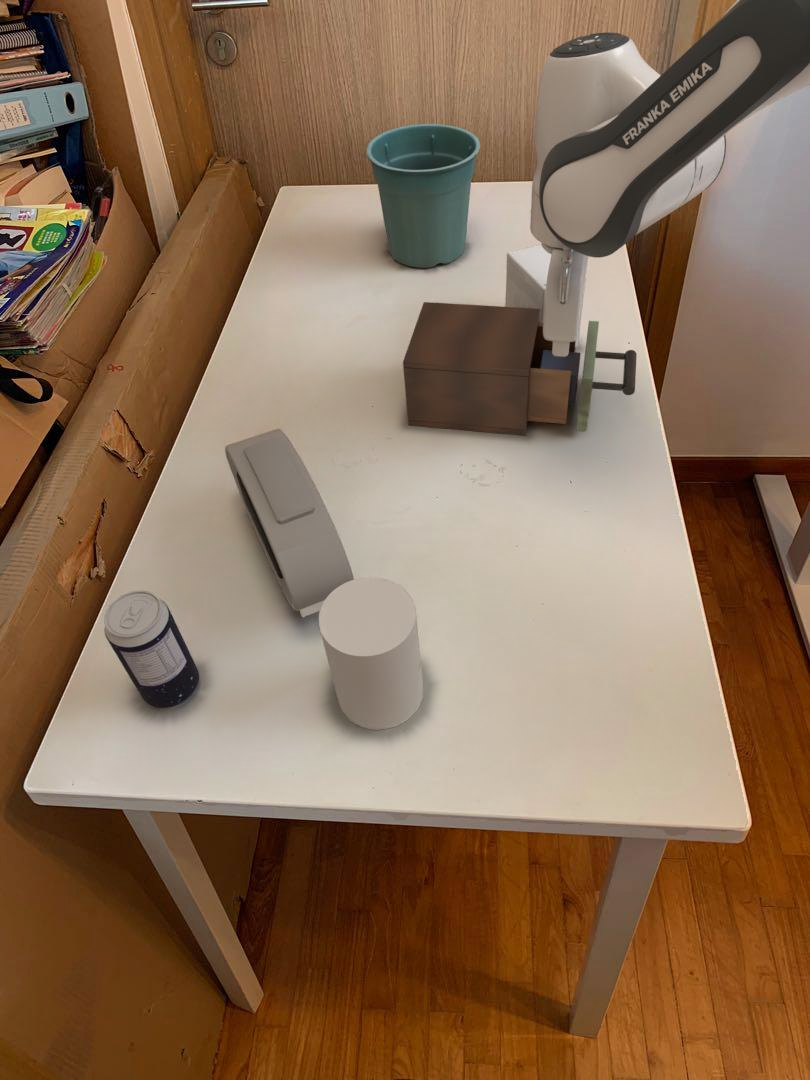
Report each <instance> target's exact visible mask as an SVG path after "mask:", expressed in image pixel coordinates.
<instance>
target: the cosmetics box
mask: <svg viewBox="0 0 810 1080" xmlns="http://www.w3.org/2000/svg"><path fill="white" fill-rule="evenodd" d="M550 259H551V254H549V253H548V252H547V251H545V250H544V249H543V247H542V244H541V243H540V244H538V245H537V244H536V245H533V246H528V247H526V248H521V249H517V250H513V251H508V252H507V254H506V276H505V277H506V279H505V280H506V281H505V303H504V305H505V306H504V307H518V308H535V309H540V323H543V320H544V307H545V295H546V284H547V275H548V270H549V264H550ZM586 282H587V279H586V280H585V284H586ZM585 291H586V287H585V288H584V292H585ZM583 299H585V295H584V296H583ZM583 305H584V303H583V304H582V308H583ZM582 315H583V310H582V311H581V316H582ZM581 321H582V318H581V319H580V325H581ZM580 331H581V326H580V327H579V334H578V338H577V340H576V343H575V349H577V348H578V347H579V340H580Z"/></svg>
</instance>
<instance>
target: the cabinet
mask: <svg viewBox="0 0 810 1080" xmlns="http://www.w3.org/2000/svg"><path fill="white" fill-rule="evenodd" d="M539 322H540V309H535V308H518V307H505V306H499V305H483V304H482V305H481V304H464V303H448V302H431V301H424V302H423V303H422V306H421V309H420V313H419V315H418V318H417V321H416V323H415V326H414V329H413V331H412V334H411V337H410V340H409V344H408V347H407V350H406V352H405V355H404V358H403V361H402V366H403V367H402V368H403V369H402V371H403V380H404V392H405V402H406V403H405V405H406V416H407V425H408V426H412V427H424V428H435V429H447V430H459V431H470V432H480V433H481V432H482V433H492V434H502V435H503V434H504V435H516V436H526V435H527V428H528V424H529V421H527V407H528V389H529V372H530V366H531V361H532V355H533V350H534V344H535V339H536V334H537V328H538V323H539Z"/></svg>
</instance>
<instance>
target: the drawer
mask: <svg viewBox="0 0 810 1080" xmlns="http://www.w3.org/2000/svg"><path fill="white" fill-rule="evenodd" d="M599 325H600V321H597V320H596V321H595V320H588V326H587V332H586V343H585V350H584V358H583V367H582V368H583V369H582V375H581V376H582V378H581V386H580V393H579V403H578V412H577V421H576V429H575V431H577V432H585V433H586V432H587V430H588V422H589V415H590V405H591V401H592V400H591V399H592V391H593V390H605V391H616V392H617V391H618V392H619V391H620V392H622V394H624V395H625V396H631V395H633V394H635V392H636V376H637V375H636V374H637V352H636V350H634V349H628V350H626V351H625V352H612V351H597V344H598V335H599ZM575 343H576V341H574V342H570V344H569V352H576V348H575ZM552 347H553V341H549V340H546V339H545V338H544V336H543V323H540V322H539V323H538V328H537V334H536V339H535V344H534V350H533V355H532V361H531V366H530V372H529V389H528V407H527V421H528V422H535V423H549V424H558V425H559V424H560V425H566V424H567V420H568V411H569V404H568V400H569V390H570V380H571V371H565V370H551V369H540V366H541V360H542V354H543V350H549V351H552ZM596 359H603V360H604V359H605V360H621V361H623V374H622V375H623V376H622V383H614V382H602V381H599V382H598V381H594V373H595V366H596Z"/></svg>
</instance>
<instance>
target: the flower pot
mask: <svg viewBox="0 0 810 1080" xmlns="http://www.w3.org/2000/svg"><path fill="white" fill-rule="evenodd" d="M480 148H481V142H480V140H479V138H478V137H477V136H476V134H474V133H472V132H470V131H469V130H467V129H464V128H460V127H457V126H454V125H447V124H440V123H419V124H409V125H408V124H407V125H403V126H398V127H395V128H391V129H389V130H386V131H384V132H382V133H379V134H378V135H377V136H375V137H374V138H373V139H371V140H370V142H369V143H368V144H367V146H366V156H367V158H368V161H370V162H371V166H372V172H373V177H374V181H375V183H376V184H377V189H378V193H379V200H380V206H381V211H382V217H383V224H384V231H385V236H386V242H387V248H388V252H389V253H390V254H391V256H392V258H393V260H394V261H396V262H398V263H400V264H402V265H405V266H408V267H412V268H424V269H425V268H426V269H427V268H434V267H435V266H436V265H438V264H443V265H447V264H450V263H452V262H455V260H457V259H459V258H460V256H461V255H463V253H464V251H465V248H466V241H467V240H466V239H467V230H468V228H467V227H468V218H469V208H470V198H471V197H470V196H471V187H472V179H473V177H474V174H475V167H476V165H475V164H476V157H477V156H478V154H479V151H480Z"/></svg>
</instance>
